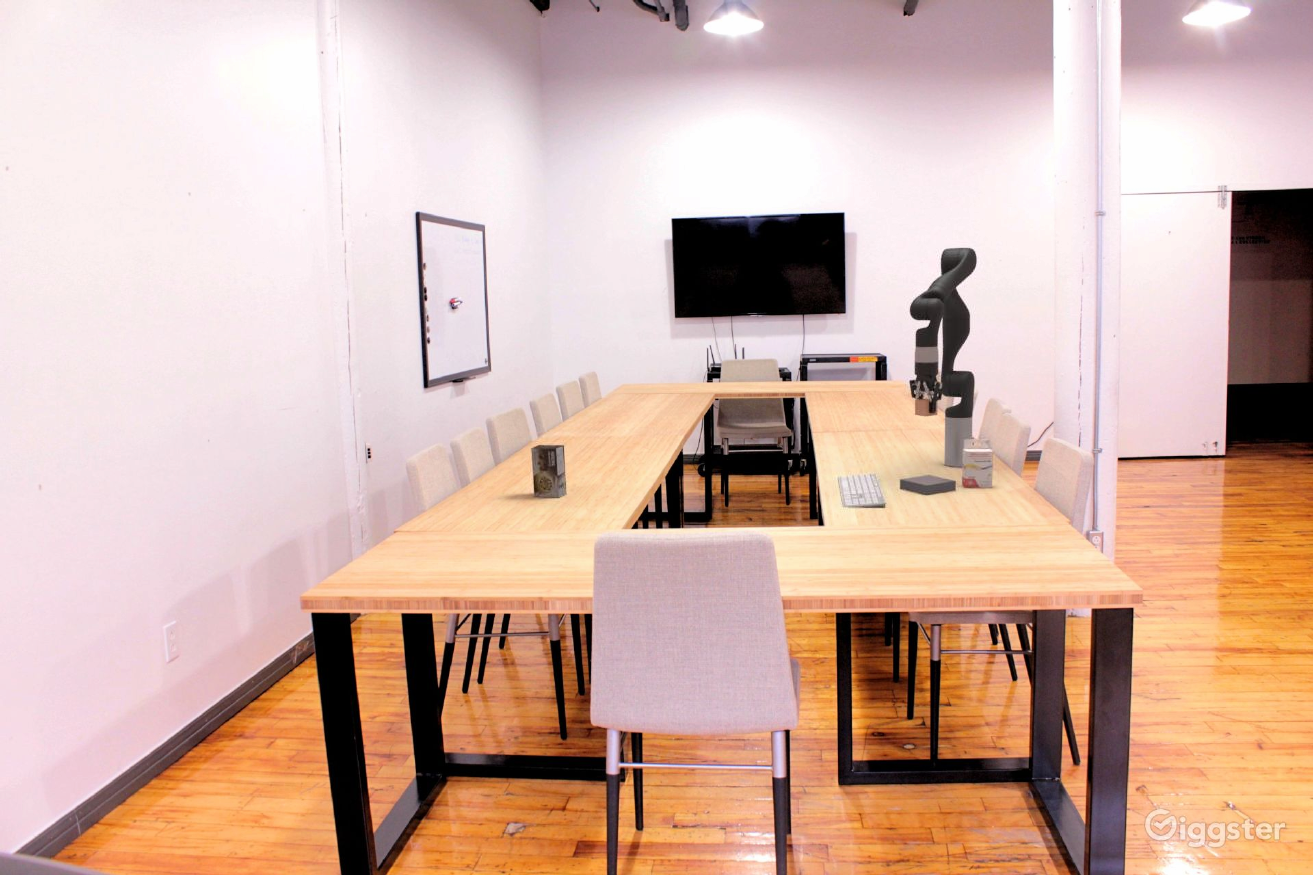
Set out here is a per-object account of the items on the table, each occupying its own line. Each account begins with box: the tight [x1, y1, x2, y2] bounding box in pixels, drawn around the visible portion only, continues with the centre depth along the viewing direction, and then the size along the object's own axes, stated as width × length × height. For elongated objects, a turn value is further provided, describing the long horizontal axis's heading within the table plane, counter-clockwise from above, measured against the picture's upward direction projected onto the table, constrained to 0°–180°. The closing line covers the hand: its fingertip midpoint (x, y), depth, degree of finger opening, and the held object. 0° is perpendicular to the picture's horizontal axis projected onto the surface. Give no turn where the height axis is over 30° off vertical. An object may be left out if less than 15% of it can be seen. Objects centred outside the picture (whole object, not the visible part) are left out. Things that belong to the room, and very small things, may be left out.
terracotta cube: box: [914, 398, 938, 417], centre depth 331 cm, size 5×5×5 cm
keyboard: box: [838, 473, 887, 509], centre depth 318 cm, size 44×12×2 cm, turn 172°
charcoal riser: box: [899, 474, 957, 496], centre depth 318 cm, size 12×12×3 cm
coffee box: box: [530, 444, 567, 498], centre depth 326 cm, size 9×6×16 cm
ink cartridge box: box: [961, 438, 994, 488], centre depth 320 cm, size 9×5×15 cm, turn 84°
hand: (926, 412), depth 332 cm, fingers closed on terracotta cube, 5 cm apart
